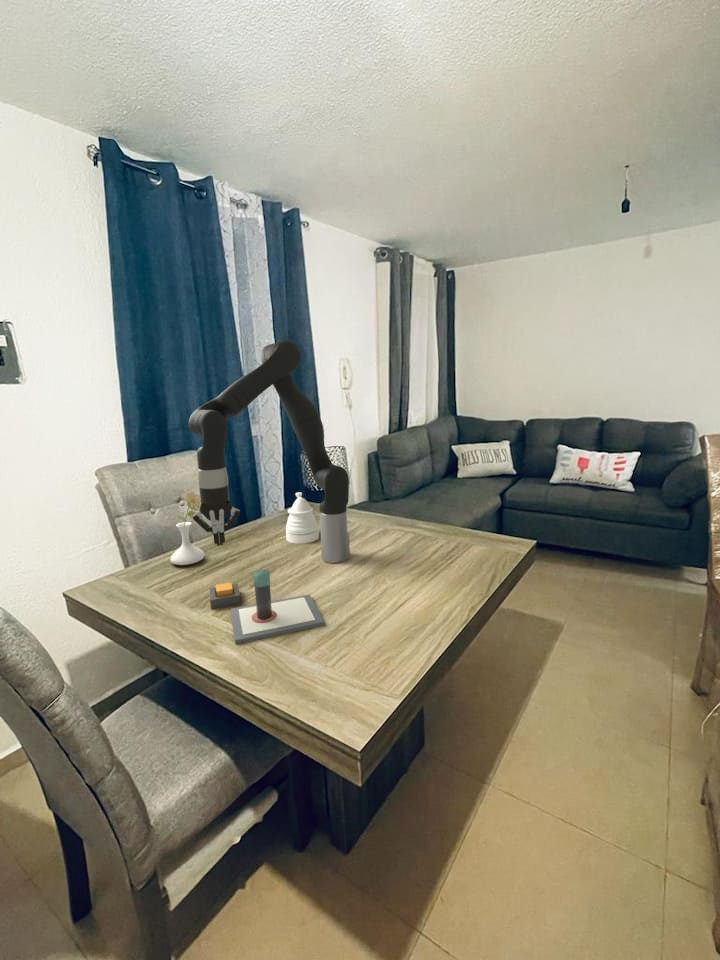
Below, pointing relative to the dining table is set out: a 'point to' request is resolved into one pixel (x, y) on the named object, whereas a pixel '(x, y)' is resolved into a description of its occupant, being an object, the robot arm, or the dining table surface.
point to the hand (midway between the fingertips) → (219, 544)
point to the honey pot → (301, 522)
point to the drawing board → (275, 619)
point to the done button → (224, 589)
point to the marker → (262, 594)
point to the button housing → (225, 597)
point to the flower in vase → (187, 550)
